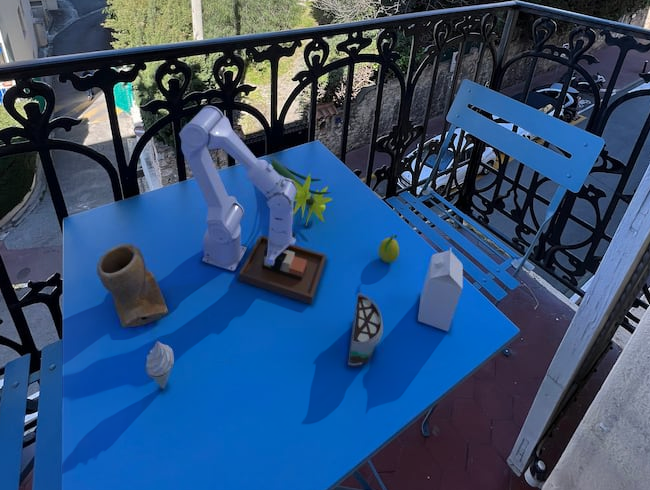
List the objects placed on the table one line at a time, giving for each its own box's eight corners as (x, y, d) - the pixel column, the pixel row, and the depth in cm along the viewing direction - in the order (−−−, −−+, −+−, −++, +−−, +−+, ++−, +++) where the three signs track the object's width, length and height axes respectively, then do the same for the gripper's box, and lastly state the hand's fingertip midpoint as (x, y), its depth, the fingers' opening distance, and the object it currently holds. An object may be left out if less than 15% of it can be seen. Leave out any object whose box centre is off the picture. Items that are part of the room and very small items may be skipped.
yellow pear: (381, 272, 109) (386, 245, 105) (371, 254, 114) (376, 228, 110) (402, 266, 111) (409, 240, 107) (392, 250, 116) (398, 224, 112)
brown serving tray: (238, 280, 103) (238, 273, 102) (259, 241, 115) (260, 235, 114) (311, 304, 99) (312, 297, 98) (325, 261, 111) (326, 254, 110)
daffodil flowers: (301, 169, 148) (354, 210, 118) (271, 198, 144) (319, 248, 114) (275, 137, 141) (326, 172, 111) (243, 167, 137) (287, 211, 107)
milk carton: (449, 306, 101) (466, 251, 93) (448, 332, 95) (467, 276, 87) (420, 296, 103) (435, 242, 95) (417, 321, 97) (433, 265, 89)
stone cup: (101, 290, 98) (91, 246, 92) (152, 269, 104) (146, 226, 98) (113, 345, 87) (103, 298, 80) (169, 317, 93) (164, 272, 87)
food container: (376, 381, 84) (383, 352, 80) (347, 373, 85) (352, 344, 81) (379, 325, 95) (385, 297, 91) (353, 319, 96) (358, 290, 92)
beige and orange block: (261, 268, 106) (262, 256, 104) (268, 255, 110) (268, 243, 108) (301, 280, 104) (302, 268, 102) (306, 267, 107) (307, 255, 106)
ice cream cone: (161, 408, 77) (154, 360, 71) (144, 391, 79) (136, 343, 73) (182, 384, 81) (177, 337, 75) (165, 368, 83) (159, 321, 77)
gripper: (286, 250, 93) (283, 290, 99) (304, 208, 106) (301, 246, 112) (258, 242, 95) (257, 281, 101) (279, 202, 108) (277, 239, 114)
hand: (278, 262), depth 106 cm, fingers closed on beige and orange block, 4 cm apart
